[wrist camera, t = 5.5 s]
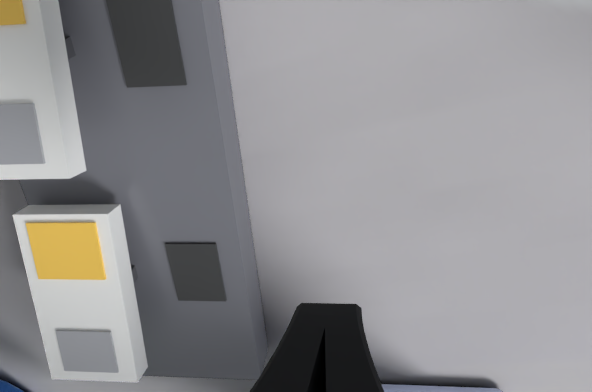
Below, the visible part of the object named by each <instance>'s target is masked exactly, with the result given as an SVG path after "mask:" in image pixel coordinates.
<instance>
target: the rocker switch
mask: <svg viewBox="0 0 592 392" xmlns="http://www.w3.org/2000/svg"><path fill="white" fill-rule="evenodd" d="M13 219H14V223H15V228H16V232H17V236H18V240H19V244H20V248H21V253H22V257H23V261H24V265H25V269H26V274H27V278H28V282H29V286H30V290H31V294H32V299H33V303H34V307H35V311H36V315H37V319H38V324H39V328H40V332H41V336H42V340H43V344H44V349H45V353H46V357H47V361H48V365H49V370H50V374H51V378H52V379H55V380H81V381H107V382H132V383H138V382H139V380H140V379H141V377H142V375H143V374H144V372H145V371H146V369H147V367H148V364H147V358H146V352H145V346H144V341H143V335H142V329H141V323H140V317H139V311H138V305H137V299H136V293H135V288H134V282H133V276H132V270H131V264H130V258H129V252H128V246H127V240H126V234H125V229H124V223H123V217H122V211H121V205H120V204H88V205H28V206H26V207H25V208H23V209H21V210H20V211H18V212H16V213H14V214H13Z"/></svg>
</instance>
